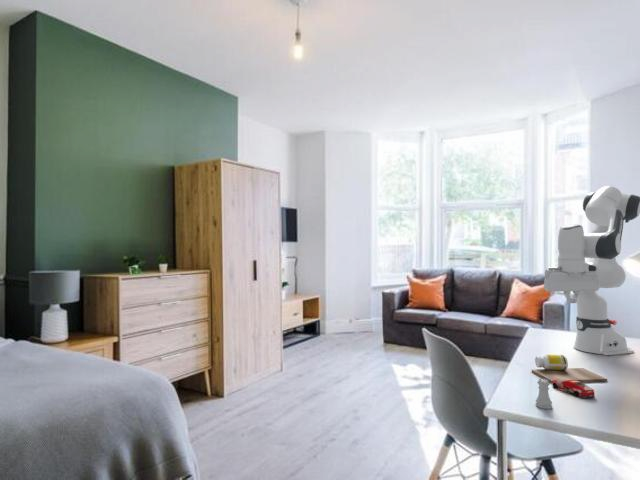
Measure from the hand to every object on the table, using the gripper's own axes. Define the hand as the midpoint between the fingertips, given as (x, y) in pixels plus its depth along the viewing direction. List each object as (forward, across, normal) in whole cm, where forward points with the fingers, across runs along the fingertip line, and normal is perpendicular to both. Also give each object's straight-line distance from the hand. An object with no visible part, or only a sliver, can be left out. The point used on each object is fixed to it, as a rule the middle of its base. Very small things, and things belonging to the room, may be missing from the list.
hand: (571, 302), depth 155 cm
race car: (+26, -16, -23) cm, 38 cm away
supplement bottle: (+21, -6, -4) cm, 23 cm away
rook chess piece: (+25, -32, -33) cm, 52 cm away
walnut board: (+25, -8, -9) cm, 28 cm away
